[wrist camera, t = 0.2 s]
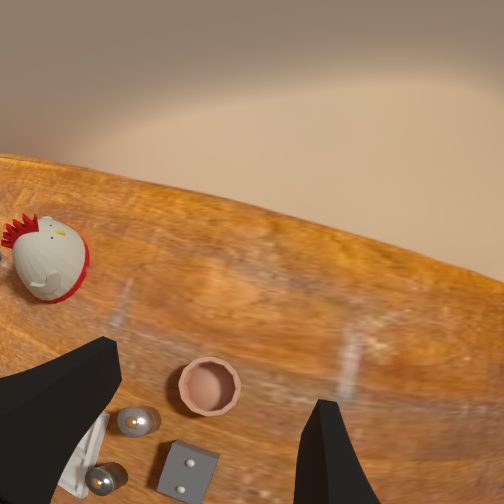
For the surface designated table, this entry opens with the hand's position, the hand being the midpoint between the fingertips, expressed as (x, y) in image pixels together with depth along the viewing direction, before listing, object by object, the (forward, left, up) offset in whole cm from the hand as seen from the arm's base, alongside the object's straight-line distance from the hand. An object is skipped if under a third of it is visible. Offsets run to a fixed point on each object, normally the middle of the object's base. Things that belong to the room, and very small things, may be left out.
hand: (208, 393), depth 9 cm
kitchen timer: (+7, +37, -32) cm, 49 cm away
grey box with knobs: (-14, +3, -31) cm, 34 cm away
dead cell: (-9, +11, -31) cm, 34 cm away
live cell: (-20, +13, -31) cm, 39 cm away
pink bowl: (-1, +4, -31) cm, 31 cm away
